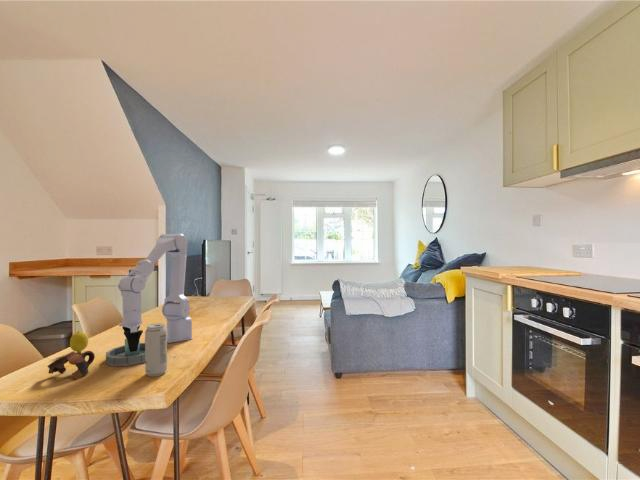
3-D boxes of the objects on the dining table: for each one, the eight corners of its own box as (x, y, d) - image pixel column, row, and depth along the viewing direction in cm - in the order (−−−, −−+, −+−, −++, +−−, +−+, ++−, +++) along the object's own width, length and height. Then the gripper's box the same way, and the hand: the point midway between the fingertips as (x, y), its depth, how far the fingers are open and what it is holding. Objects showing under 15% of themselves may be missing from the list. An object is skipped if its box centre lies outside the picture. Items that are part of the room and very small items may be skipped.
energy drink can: (150, 369, 105) (150, 323, 105) (170, 369, 106) (169, 322, 106) (141, 377, 99) (141, 328, 99) (162, 377, 100) (161, 327, 100)
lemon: (78, 355, 119) (78, 333, 119) (66, 354, 120) (65, 332, 120) (92, 350, 124) (91, 329, 124) (79, 349, 126) (79, 328, 126)
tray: (154, 347, 127) (154, 340, 127) (160, 359, 114) (160, 351, 114) (105, 355, 118) (105, 348, 118) (106, 370, 105) (105, 361, 105)
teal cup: (139, 352, 119) (139, 335, 119) (140, 356, 116) (140, 338, 116) (124, 355, 117) (124, 338, 117) (125, 358, 113) (125, 341, 113)
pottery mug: (67, 386, 95) (51, 362, 95) (53, 393, 100) (38, 371, 99) (106, 361, 106) (92, 340, 106) (92, 369, 110) (79, 348, 110)
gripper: (117, 307, 120) (118, 344, 120) (119, 315, 108) (120, 356, 108) (139, 305, 124) (140, 341, 124) (144, 312, 112) (144, 352, 112)
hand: (132, 348), depth 116 cm, fingers open, 7 cm apart
